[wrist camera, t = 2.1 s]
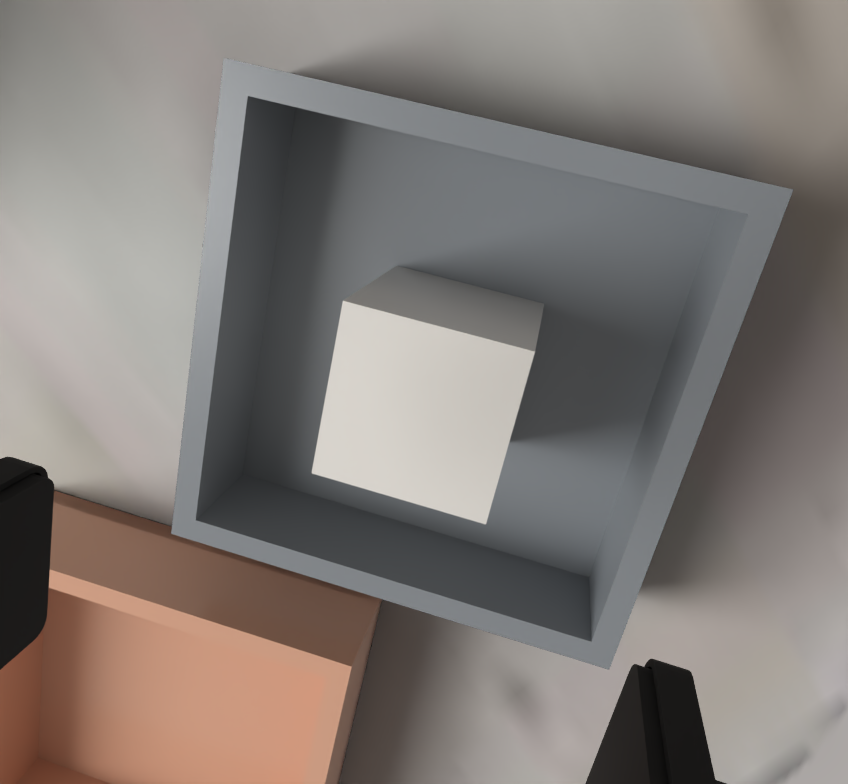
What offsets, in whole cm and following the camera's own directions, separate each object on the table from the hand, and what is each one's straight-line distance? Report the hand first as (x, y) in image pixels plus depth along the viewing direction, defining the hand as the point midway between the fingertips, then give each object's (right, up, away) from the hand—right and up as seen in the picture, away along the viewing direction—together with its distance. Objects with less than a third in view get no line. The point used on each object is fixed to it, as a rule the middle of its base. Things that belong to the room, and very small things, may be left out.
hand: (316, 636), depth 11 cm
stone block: (+3, +5, +14) cm, 15 cm away
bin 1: (-9, -9, +21) cm, 25 cm away
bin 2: (+3, +5, +14) cm, 16 cm away
